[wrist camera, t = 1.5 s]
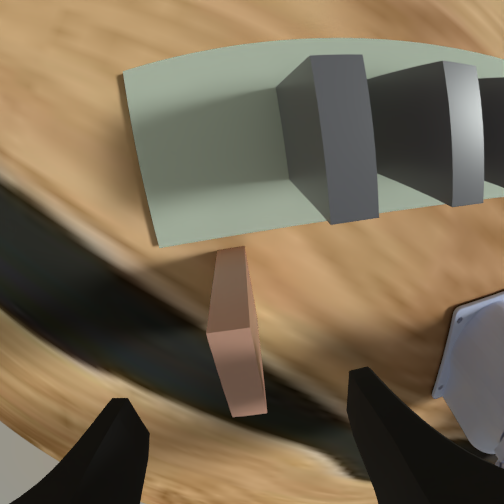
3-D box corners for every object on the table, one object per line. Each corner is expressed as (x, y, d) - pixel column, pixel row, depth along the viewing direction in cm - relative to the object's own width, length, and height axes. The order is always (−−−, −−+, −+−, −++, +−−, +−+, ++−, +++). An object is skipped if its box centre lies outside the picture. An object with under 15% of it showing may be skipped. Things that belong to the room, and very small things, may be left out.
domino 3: (452, 163, 15) (545, 194, 8) (433, 164, 15) (527, 197, 8) (446, 85, 13) (542, 82, 6) (426, 83, 13) (523, 76, 6)
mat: (545, 190, 16) (548, 191, 15) (161, 245, 16) (159, 248, 16) (540, 72, 12) (544, 72, 12) (125, 72, 13) (122, 71, 12)
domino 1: (318, 175, 15) (378, 217, 8) (289, 179, 15) (330, 224, 8) (305, 84, 13) (362, 54, 7) (275, 87, 13) (309, 55, 7)
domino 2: (392, 167, 15) (483, 202, 8) (368, 169, 15) (452, 206, 8) (383, 81, 13) (476, 66, 6) (358, 81, 13) (442, 60, 6)
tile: (257, 317, 18) (267, 413, 12) (232, 321, 18) (232, 417, 12) (244, 246, 16) (250, 327, 10) (217, 250, 16) (206, 333, 10)
